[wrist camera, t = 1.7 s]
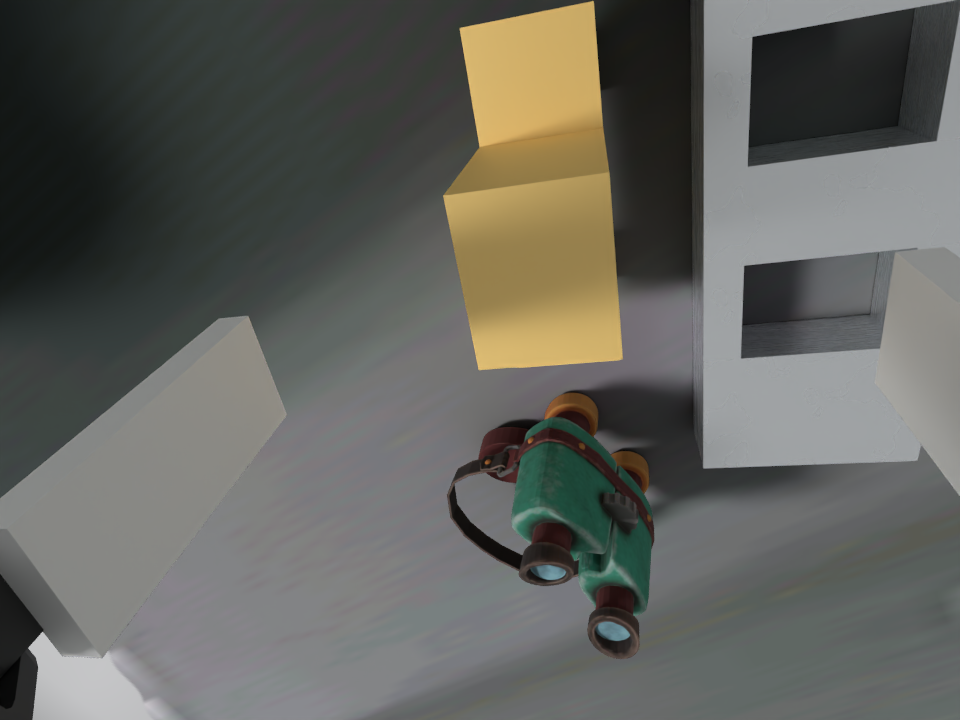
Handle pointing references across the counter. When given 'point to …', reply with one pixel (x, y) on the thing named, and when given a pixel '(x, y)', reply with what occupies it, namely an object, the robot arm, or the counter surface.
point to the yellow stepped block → (536, 196)
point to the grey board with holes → (809, 237)
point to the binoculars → (573, 515)
